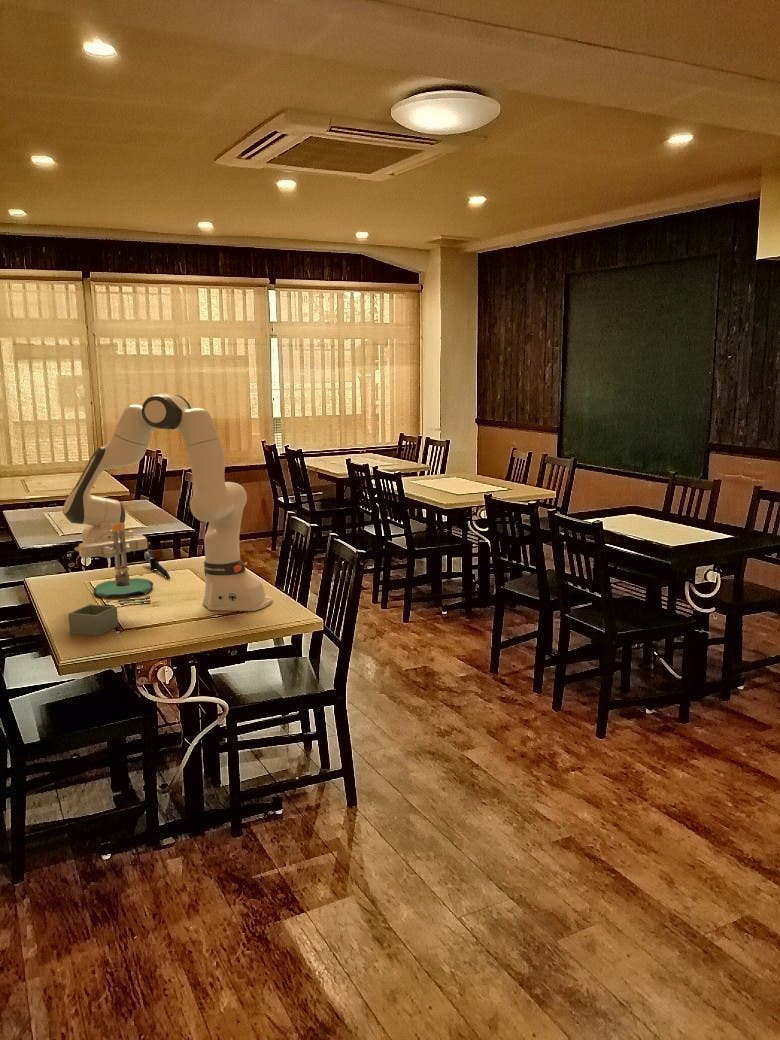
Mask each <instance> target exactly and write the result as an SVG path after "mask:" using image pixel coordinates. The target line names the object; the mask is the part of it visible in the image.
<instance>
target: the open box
mask: <svg viewBox="0 0 780 1040" xmlns="http://www.w3.org/2000/svg"><path fill="white" fill-rule="evenodd" d="M67 615H68V617H67V618H68V626H69V633H70V634H72V633H73V634H72V635H74V634H75V635H84V636H92V637H99V636H101V635H103V634H105V633H107V632H109V631H111V630H114V629H115V628H117V627H119V617H118V607H115V606H113V605H105V604H103V605H101V604H90V603H89V604H87V605H84V606H83V607H80V608H78V609H76V610H73V611H71V612H69V613H68V614H67Z"/></svg>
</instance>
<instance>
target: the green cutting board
mask: <svg viewBox="0 0 780 1040" xmlns="http://www.w3.org/2000/svg"><path fill="white" fill-rule="evenodd" d="M129 582H130V584H129V585H127V586H116V580H106V581H104V582H101V583H99V584H98V583H97V584H96V586H95V587H94V589H92V590H93V593H94V594H96V595H97V596H98V597H100V596H104V597H103V598H105V597H106V598H107V597H111V596H113V598H114V597H115V598H117V596H118V597H126V596H127V598H128V599H130V598H135V599H133V600H131V599H130V600H129V601H133V602H136V601H135V600H140V601H137V602H136V603H144V602H151V603H152V601H151V596H150V595H146V596H145V598H140V597H141V596H137V597H136V596H135V597H134V595H138V594H142V593H143V594H144V593H147V592H150V591H151V588H153V586H154V583H153V581H151V580H150V579H148V578H139V577H135V578H129ZM147 594H148V593H147ZM128 596H130V597H128ZM100 598H101V597H100ZM145 599H146V600H145ZM147 599H150V600H147ZM124 604H125V603H120V605H124ZM124 606H125V605H124Z"/></svg>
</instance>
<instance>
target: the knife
mask: <svg viewBox="0 0 780 1040" xmlns="http://www.w3.org/2000/svg"><path fill="white" fill-rule="evenodd" d="M143 555H144V559H145V560H146V561H147V562H148V564H149V566H150V570H151V571H152V570H154V569H157V570H156V571H158V572H159V574H161V575H162V574H163V575H164V577H165V576H166V577H167V578H166V577H165V578H166V579H168V578H169V579H168V580H171V576H170V574H169V572H168V570H167V569H165V568H164V567H163V566H162V565H161V564H160V563H159V557H154V558H153V557H152V555H151V554H150V553H149V551H148V550H144V553H143ZM154 571H155V570H154ZM163 575H162V576H163Z"/></svg>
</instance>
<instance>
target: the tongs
mask: <svg viewBox="0 0 780 1040" xmlns="http://www.w3.org/2000/svg"><path fill="white" fill-rule="evenodd" d="M111 530H112V532H113V544H114V548H116V554H114V555H115V556H114V568H113V569H114V570H113V571H115V575H114V577H115V580H116V586H127V585H129V584H130V582H129V579H130V574H129V573H128V572H129V570H130V567H128V562H127V561H128V560H127V553H126V546H125V534H124V530H126V526H125V522H124V523H118V525H117V524H115V523H114V524H111ZM118 530H119V535H120V547H121V554H119V543H118ZM115 580H114V581H115Z"/></svg>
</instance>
